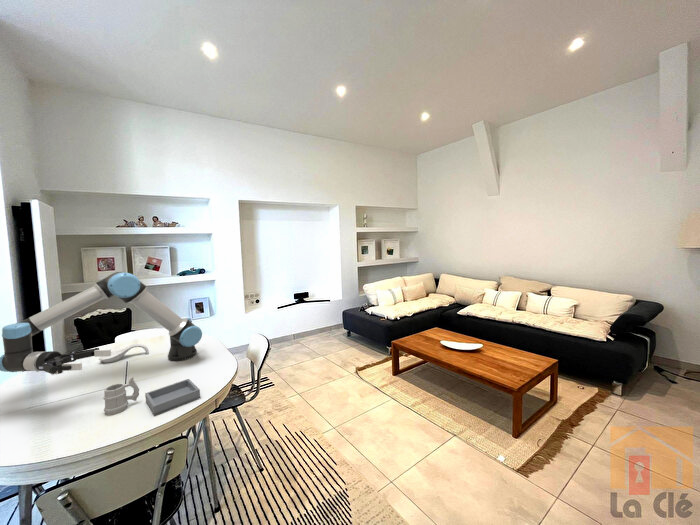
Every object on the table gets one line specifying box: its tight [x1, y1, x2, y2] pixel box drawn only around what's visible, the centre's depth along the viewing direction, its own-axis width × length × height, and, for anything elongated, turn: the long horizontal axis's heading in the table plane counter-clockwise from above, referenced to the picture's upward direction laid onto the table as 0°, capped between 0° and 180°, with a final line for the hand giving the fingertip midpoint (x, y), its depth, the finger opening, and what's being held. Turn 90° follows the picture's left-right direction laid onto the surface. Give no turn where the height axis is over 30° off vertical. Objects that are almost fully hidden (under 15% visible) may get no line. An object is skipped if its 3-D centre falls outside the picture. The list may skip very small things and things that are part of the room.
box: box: [144, 378, 201, 417], centre depth 122 cm, size 17×15×4 cm
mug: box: [103, 376, 140, 416], centre depth 117 cm, size 8×12×12 cm, turn 138°
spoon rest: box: [98, 343, 149, 363], centre depth 171 cm, size 24×12×7 cm, turn 125°
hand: (96, 359), depth 115 cm, fingers open, 13 cm apart
